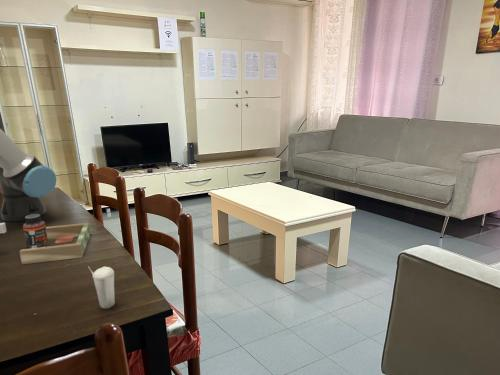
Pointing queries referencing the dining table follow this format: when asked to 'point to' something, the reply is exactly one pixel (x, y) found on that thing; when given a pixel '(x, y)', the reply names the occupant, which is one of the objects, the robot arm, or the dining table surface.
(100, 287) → the milkshake
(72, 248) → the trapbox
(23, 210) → the robot arm
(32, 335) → the dining table surface
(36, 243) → the supplement bottle
